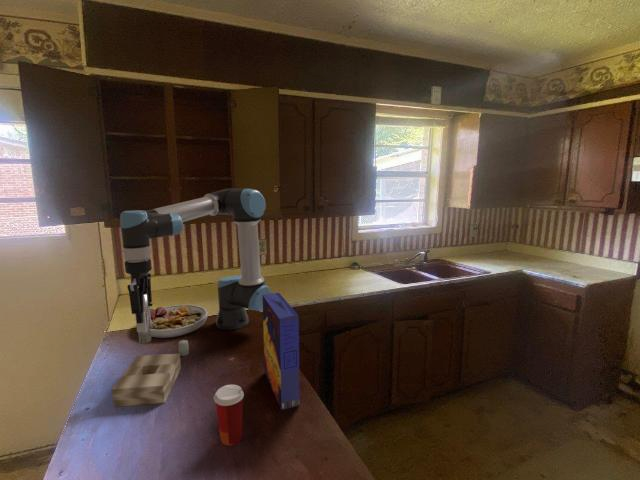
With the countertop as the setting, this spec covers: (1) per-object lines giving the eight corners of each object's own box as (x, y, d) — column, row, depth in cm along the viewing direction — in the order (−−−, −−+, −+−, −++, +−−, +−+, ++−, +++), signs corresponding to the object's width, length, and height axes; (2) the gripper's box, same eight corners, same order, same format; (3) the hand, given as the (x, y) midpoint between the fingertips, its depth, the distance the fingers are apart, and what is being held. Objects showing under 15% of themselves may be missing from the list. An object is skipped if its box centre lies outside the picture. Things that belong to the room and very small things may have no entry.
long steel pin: (152, 337, 117) (148, 292, 115) (149, 342, 114) (144, 296, 111) (141, 338, 117) (137, 293, 114) (137, 343, 114) (132, 296, 111)
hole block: (180, 368, 129) (179, 353, 128) (164, 402, 110) (163, 385, 109) (138, 371, 127) (136, 356, 126) (113, 406, 108) (111, 389, 107)
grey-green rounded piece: (189, 351, 142) (189, 339, 141) (187, 355, 138) (186, 344, 137) (180, 351, 141) (179, 340, 140) (178, 356, 138) (177, 344, 137)
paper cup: (247, 427, 99) (246, 383, 96) (242, 448, 91) (240, 400, 89) (220, 428, 99) (217, 383, 96) (212, 449, 91) (209, 401, 89)
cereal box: (264, 373, 126) (262, 294, 121) (280, 369, 128) (279, 292, 123) (281, 410, 106) (279, 317, 101) (299, 405, 108) (298, 314, 103)
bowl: (217, 315, 179) (216, 300, 177) (190, 342, 150) (189, 325, 148) (161, 312, 182) (160, 298, 180) (124, 339, 152) (122, 322, 151)
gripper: (135, 254, 118) (141, 319, 122) (113, 266, 102) (121, 341, 106) (158, 253, 119) (164, 318, 123) (140, 265, 103) (147, 339, 107)
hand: (144, 328), depth 115 cm, fingers closed on long steel pin, 3 cm apart
